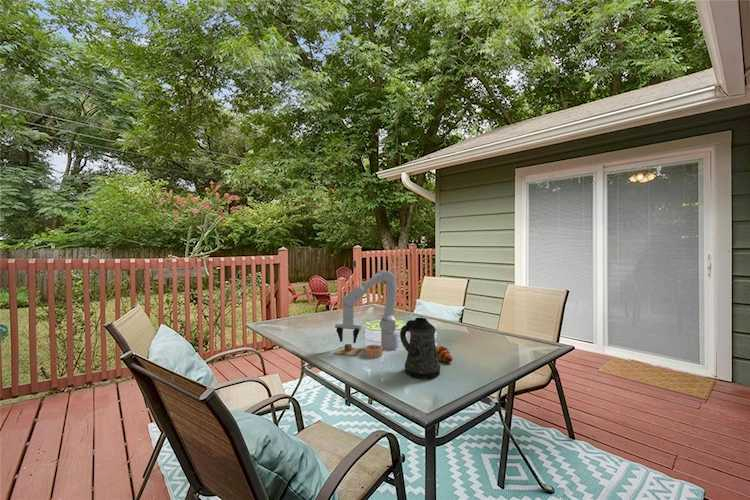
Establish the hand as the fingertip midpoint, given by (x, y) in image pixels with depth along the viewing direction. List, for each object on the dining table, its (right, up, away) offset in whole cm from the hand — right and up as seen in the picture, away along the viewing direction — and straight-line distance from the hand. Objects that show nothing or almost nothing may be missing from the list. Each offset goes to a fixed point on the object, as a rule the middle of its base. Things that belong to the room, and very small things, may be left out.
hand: (347, 342), depth 186 cm
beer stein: (+35, -7, -27) cm, 45 cm away
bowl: (+14, -6, -5) cm, 16 cm away
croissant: (+49, -7, -7) cm, 49 cm away
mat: (0, -6, 0) cm, 6 cm away
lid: (0, -5, 0) cm, 5 cm away
